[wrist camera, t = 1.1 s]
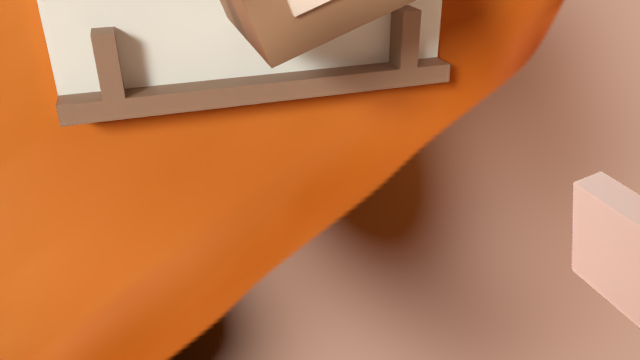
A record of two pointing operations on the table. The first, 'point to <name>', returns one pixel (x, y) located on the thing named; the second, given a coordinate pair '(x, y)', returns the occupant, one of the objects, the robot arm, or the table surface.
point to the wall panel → (218, 58)
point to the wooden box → (300, 23)
